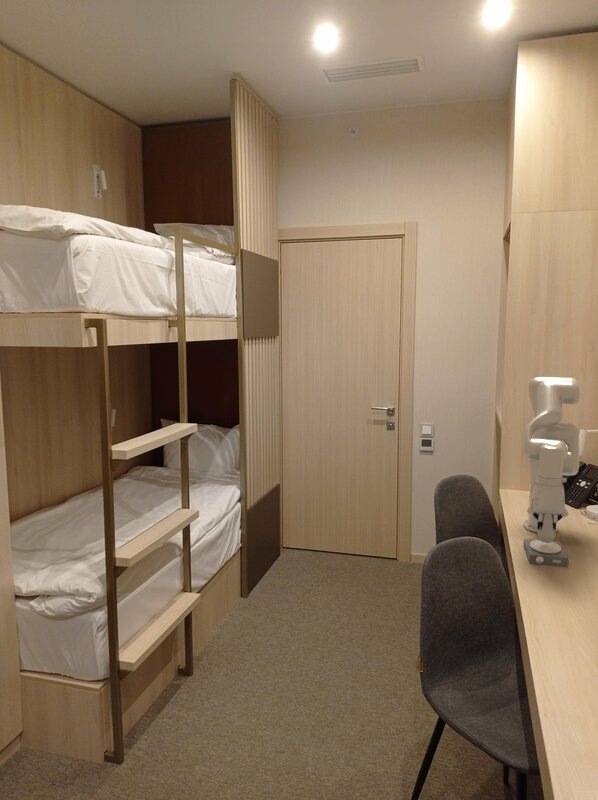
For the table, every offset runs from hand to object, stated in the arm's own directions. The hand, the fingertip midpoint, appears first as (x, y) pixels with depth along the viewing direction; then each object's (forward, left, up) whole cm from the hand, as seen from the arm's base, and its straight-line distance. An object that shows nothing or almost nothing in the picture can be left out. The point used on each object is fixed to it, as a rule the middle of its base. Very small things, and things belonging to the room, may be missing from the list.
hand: (546, 531), depth 200 cm
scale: (0, 0, -9) cm, 9 cm away
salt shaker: (0, 0, -3) cm, 3 cm away
